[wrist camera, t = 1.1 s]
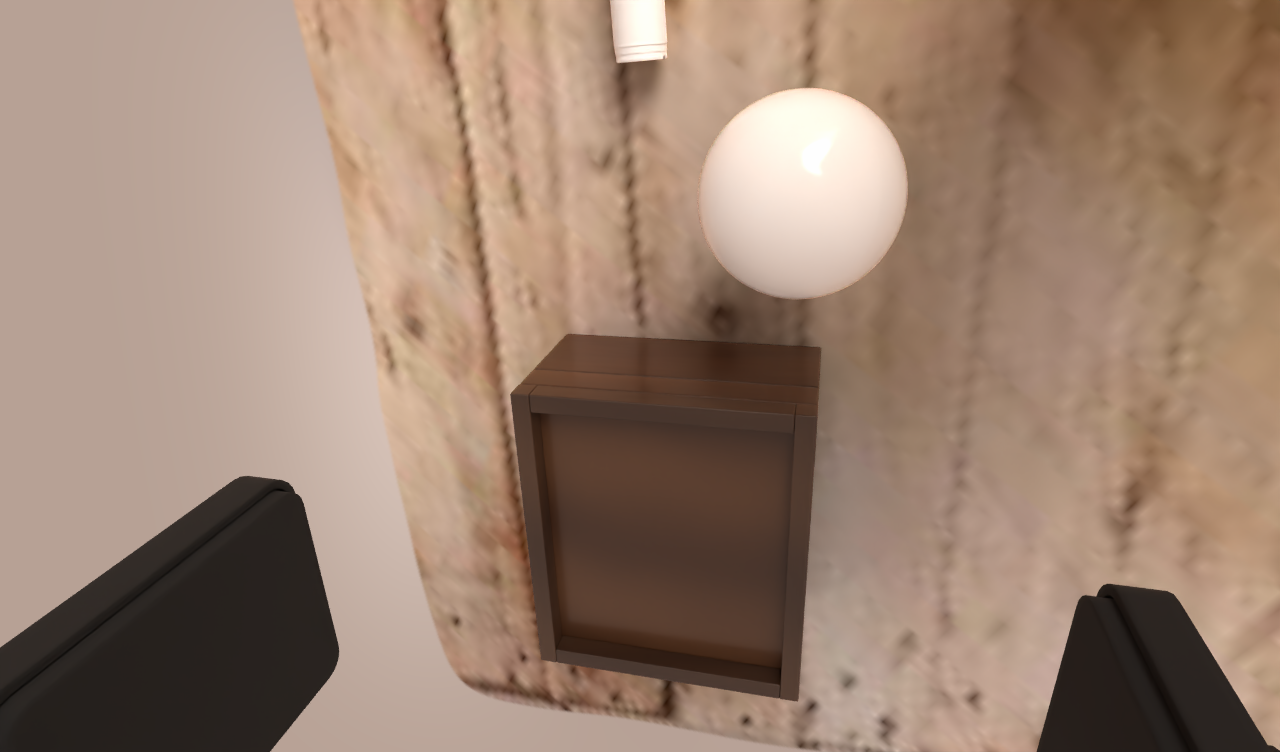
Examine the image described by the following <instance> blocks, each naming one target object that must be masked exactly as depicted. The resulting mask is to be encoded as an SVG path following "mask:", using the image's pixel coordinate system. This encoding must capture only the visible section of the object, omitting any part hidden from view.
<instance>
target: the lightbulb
mask: <svg viewBox="0 0 1280 752" xmlns="http://www.w3.org/2000/svg"><path fill="white" fill-rule="evenodd" d="M907 197H908V179H907V171H906V166H905V161H904V158H903V155H902V152H901V149H900V147H899V145H898V143H897V141H896V139H895V137H894V135H893V134H892V132H891V131H890V129H889V128H888V127H887V125H886V124H885V123H884V122H883V121H882V119H881V118H880V117H879V116H878V115H877V114H876V113H874V112H873V111H872V110H871V109H869V108H868V107H867V106H865V105H864V104H862V103H861V102H859V101H857V100H856V99H854V98H852V97H849V96H847V95H845V94H842V93H839V92H835V91H832V90H827V89H820V88H796V89H789V90H784V91H780V92H777V93H774V94H771V95H768V96H766V97H763V98H761V99H759V100H757V101H755V102H754V103H752V104H750V105H749V106H747V107H746V108H744V109H743V110H742V111H741V112H739V113H738V114H737V115H736V116H735V117H733V118H732V119H731V120H730V121H729V122H728V123H727V125H726V126H725V127H724V128H723V129H722V130H721V132H720V133H719V135H718V136H717V137H716V139H715V141H714V142H713V144H712V146H711V148H710V149H709V151H708V154H707V156H706V158H705V161H704V164H703V167H702V170H701V174H700V179H699V185H698V213H699V219H700V224H701V228H702V231H703V234H704V237H705V239H706V241H707V244H708V246H709V248H710V249H711V251H712V253H713V254H714V256H715V257H716V259H717V260H718V261H719V263H720V264H721V265H722V266H723V267H724V268H725V269H726V270H727V271H728V272H729V273H730V274H731V275H732V276H733V277H734V278H736V279H737V280H738V281H740V282H741V283H743V284H744V285H746V286H748V287H750V288H752V289H754V290H756V291H758V292H761V293H763V294H766V295H769V296H773V297H778V298H784V299H811V298H817V297H822V296H826V295H829V294H832V293H835V292H838V291H840V290H842V289H845V288H847V287H849V286H850V285H852V284H854V283H855V282H857V281H858V280H860V279H861V278H863V277H864V276H865V275H866V274H868V273H869V272H870V271H871V270H872V269H873V268H874V267H875V266H876V265H877V264H878V263H879V262H880V261H881V260H882V258H883V257H884V256H885V254H886V253H887V252H888V250H889V249H890V247H891V246H892V244H893V242H894V240H895V238H896V236H897V234H898V232H899V230H900V227H901V225H902V222H903V219H904V215H905V211H906V205H907Z"/></svg>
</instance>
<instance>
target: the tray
mask: <svg viewBox="0 0 1280 752" xmlns="http://www.w3.org/2000/svg"><path fill="white" fill-rule="evenodd" d="M820 362H821V348H820V347H802V346H783V345H764V344H745V343H726V342H707V341H689V340H670V339H651V338H632V337H613V336H594V335H575V334H567V335H566V336H565V337H564V338H563V339H562V340H561V341H560V342H559V343H558V344H557V345H556V346H555V347H554V348H553V350H552V351H551V352H550V353H549V354H548V355H547V356H546V357H545V358H544V359H543V360H542V361H541V362H540V363H539V364H538V365H537V367H536V368H535V369H534V370H533V371H532V372H531V373H530V374H529V375H528V376H527V377H526V378H525V379H524V381H523V382H522V383H521V384H520V385H518V386H517V387H516V388H515V390H514V391H513V392H512V393H511V394H510V396H511V404H512V413H513V421H514V430H515V438H516V447H517V455H518V464H519V472H520V481H521V490H522V498H523V507H524V515H525V524H526V532H527V541H528V549H529V558H530V567H531V575H532V584H533V592H534V601H535V609H536V618H537V626H538V635H539V643H540V652H541V659H542V660H546V661H552V662H558V663H564V664H570V665H577V666H583V667H589V668H595V669H601V670H607V671H613V672H620V673H626V674H632V675H638V676H644V677H650V678H656V679H663V680H669V681H675V682H681V683H687V684H693V685H699V686H706V687H712V688H718V689H724V690H730V691H736V692H742V693H749V694H755V695H761V696H767V697H773V698H780V699H785V700H791V701H798V698H799V683H800V668H801V653H802V639H803V624H804V609H805V595H806V580H807V565H808V550H809V536H810V521H811V506H812V492H813V477H814V462H815V448H816V433H817V418H818V399H819V381H820Z"/></svg>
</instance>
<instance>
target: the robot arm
mask: <svg viewBox="0 0 1280 752" xmlns="http://www.w3.org/2000/svg"><path fill="white" fill-rule="evenodd" d="M338 657H339V646H338V641H337V637H336V633H335V629H334V625H333V621H332V617H331V613H330V609H329V605H328V601H327V597H326V593H325V589H324V585H323V581H322V576H321V572H320V569H319V564H318V560H317V556H316V552H315V548H314V544H313V540H312V536H311V532H310V528H309V524H308V520H307V516H306V512H305V507H304V504H303V501H302V499H301V497H300V496H299V495H298V494H295V491H294V489H293V487H292V486H291V485H290V484H289V483H288V482H285V481H283V480H276V479H268V478H260V477H252V476H243V477H239V478H237V479H235V480H233V481H232V482H230V483H229V484H228V485H226V486H225V487H223V488H222V489H221V490H219V491H218V492H216V493H215V494H214V495H212V496H211V497H209V498H208V499H207V500H205V501H204V502H202V503H201V504H200V505H198V506H197V507H196V508H194V509H193V510H191V511H190V512H189V513H187V514H186V515H184V516H183V517H182V518H180V519H179V520H177V521H176V522H175V523H173V524H172V525H170V526H169V527H168V528H167V529H165V530H164V531H162V532H161V533H159V534H158V535H157V536H155V537H154V538H152V539H151V540H150V541H148V542H147V543H145V544H144V545H143V546H141V547H140V548H139V549H137V550H136V551H134V552H133V553H132V554H130V555H129V556H127V557H126V558H125V559H123V560H122V561H120V562H119V563H118V564H116V565H115V566H113V567H112V568H111V569H109V570H108V571H106V572H105V573H104V574H102V575H101V576H100V577H98V578H97V579H95V580H94V581H92V582H91V583H90V584H88V585H87V586H85V587H84V588H83V589H81V590H80V591H78V592H77V593H76V594H74V595H73V596H72V597H70V598H69V599H68V600H66V601H65V602H63V603H62V604H60V605H59V606H58V607H56V608H55V609H53V610H52V611H51V612H49V613H48V614H47V615H45V616H44V617H42V618H41V619H40V620H38V621H37V622H35V623H34V624H32V625H31V626H30V627H28V628H27V629H26V630H24V631H23V632H21V633H20V634H19V635H17V636H16V637H14V638H13V639H12V640H10V641H9V642H8V643H6V644H5V645H3V646H2V647H1V648H0V752H270V751H271V750H272V749H273V747H274V746H275V745H276V743H277V742H278V741H279V740H280V739H281V737H282V736H283V735H284V734H285V732H286V731H287V730H288V729H289V727H290V726H291V725H292V724H293V722H294V721H295V720H296V719H297V718H298V716H299V715H300V714H301V713H302V711H303V710H304V709H305V708H306V706H307V705H308V704H309V703H310V701H311V700H312V699H313V698H314V696H315V695H316V694H317V693H318V691H319V690H320V689H321V688H322V686H323V685H324V684H325V683H326V682H327V680H328V679H329V678H330V676H331V675H332V673H333V672H334V669H335V667H336V665H337V661H338ZM1037 752H1280V751H1279V750H1278V749H1276V748H1275V747H1274V746H1270V745H1267V743H1266V742H1265V740H1264V738H1263V737H1262V735H1261V733H1260V732H1259V730H1258V729H1257V727H1256V725H1255V724H1254V722H1253V720H1252V719H1251V717H1250V716H1249V714H1248V712H1247V711H1246V709H1245V707H1244V706H1243V704H1242V703H1241V701H1240V699H1239V698H1238V696H1237V694H1236V693H1235V691H1234V689H1233V688H1232V686H1231V685H1230V683H1229V681H1228V680H1227V678H1226V676H1225V675H1224V673H1223V672H1222V670H1221V668H1220V667H1219V665H1218V663H1217V662H1216V660H1215V659H1214V657H1213V655H1212V654H1211V652H1210V650H1209V649H1208V647H1207V646H1206V644H1205V642H1204V641H1203V639H1202V637H1201V636H1200V634H1199V632H1198V631H1197V629H1196V628H1195V626H1194V624H1193V623H1192V621H1191V619H1190V618H1189V616H1188V615H1187V613H1186V611H1185V610H1184V608H1183V606H1182V605H1181V603H1180V602H1179V600H1178V599H1177V598H1176V597H1175V595H1174V594H1172V593H1170V592H1168V591H1162V590H1154V589H1146V588H1138V587H1130V586H1122V585H1114V584H1106V585H1103V586H1102V587H1101V589H1100V590H1099V592H1098V594H1097V597H1095V596H1087V595H1085V596H1082V597H1081V598H1080V599H1079V601H1078V604H1077V607H1076V610H1075V614H1074V618H1073V621H1072V625H1071V629H1070V632H1069V636H1068V639H1067V643H1066V647H1065V650H1064V654H1063V658H1062V661H1061V665H1060V669H1059V672H1058V676H1057V680H1056V683H1055V687H1054V691H1053V694H1052V698H1051V702H1050V705H1049V709H1048V713H1047V716H1046V720H1045V724H1044V727H1043V731H1042V734H1041V738H1040V742H1039V745H1038V749H1037Z"/></svg>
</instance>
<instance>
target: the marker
mask: <svg viewBox="0 0 1280 752" xmlns="http://www.w3.org/2000/svg"><path fill="white" fill-rule="evenodd" d="M610 6H611V18H612V29H613V41H614V48H615V56H616V62H617V63H625V62H637V61H648V60H659V59H667V31H666V15H665V0H610Z"/></svg>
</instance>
